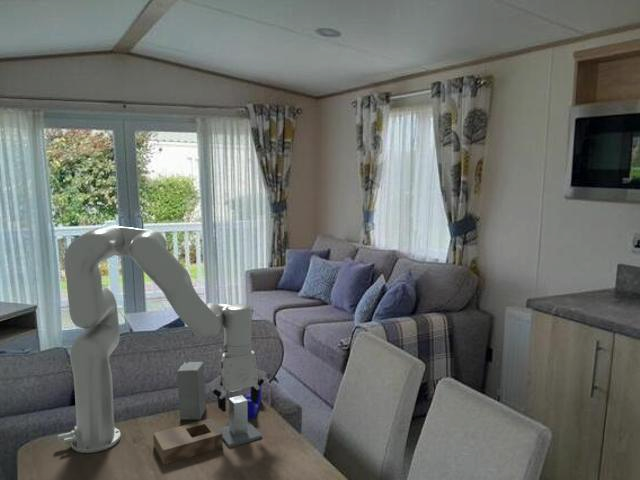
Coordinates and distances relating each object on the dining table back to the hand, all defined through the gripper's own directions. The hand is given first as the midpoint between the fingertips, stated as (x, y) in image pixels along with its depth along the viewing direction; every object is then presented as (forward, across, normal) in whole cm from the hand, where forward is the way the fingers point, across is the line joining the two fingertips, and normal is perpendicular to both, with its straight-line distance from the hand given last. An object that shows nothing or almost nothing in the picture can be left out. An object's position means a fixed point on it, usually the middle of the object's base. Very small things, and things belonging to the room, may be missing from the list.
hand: (238, 405), depth 142 cm
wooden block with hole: (+9, -14, +1) cm, 17 cm away
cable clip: (+9, +9, +12) cm, 18 cm away
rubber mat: (+9, 0, 0) cm, 9 cm away
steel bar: (+8, 0, 0) cm, 8 cm away
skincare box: (+9, -8, +19) cm, 22 cm away
